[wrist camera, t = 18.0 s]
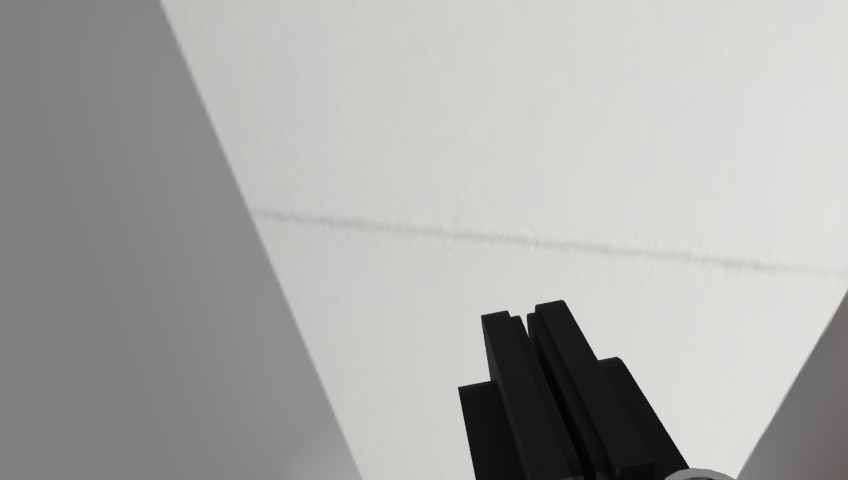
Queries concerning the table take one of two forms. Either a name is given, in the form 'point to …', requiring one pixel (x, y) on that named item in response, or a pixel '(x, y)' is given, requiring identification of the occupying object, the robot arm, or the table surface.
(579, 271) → the table surface
